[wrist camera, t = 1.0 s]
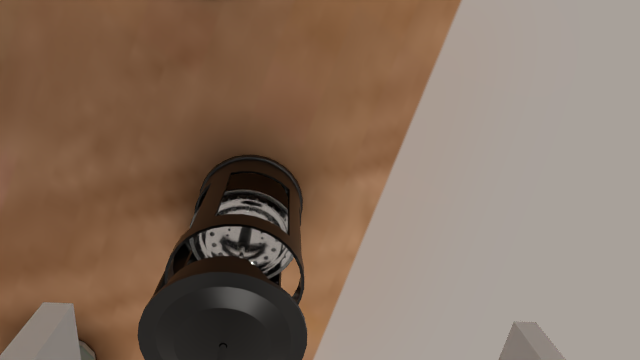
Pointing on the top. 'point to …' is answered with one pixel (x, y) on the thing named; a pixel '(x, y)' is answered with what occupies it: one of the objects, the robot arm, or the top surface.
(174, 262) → the french press
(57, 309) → the robot arm
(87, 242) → the top surface
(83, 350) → the disposable coffee cup
